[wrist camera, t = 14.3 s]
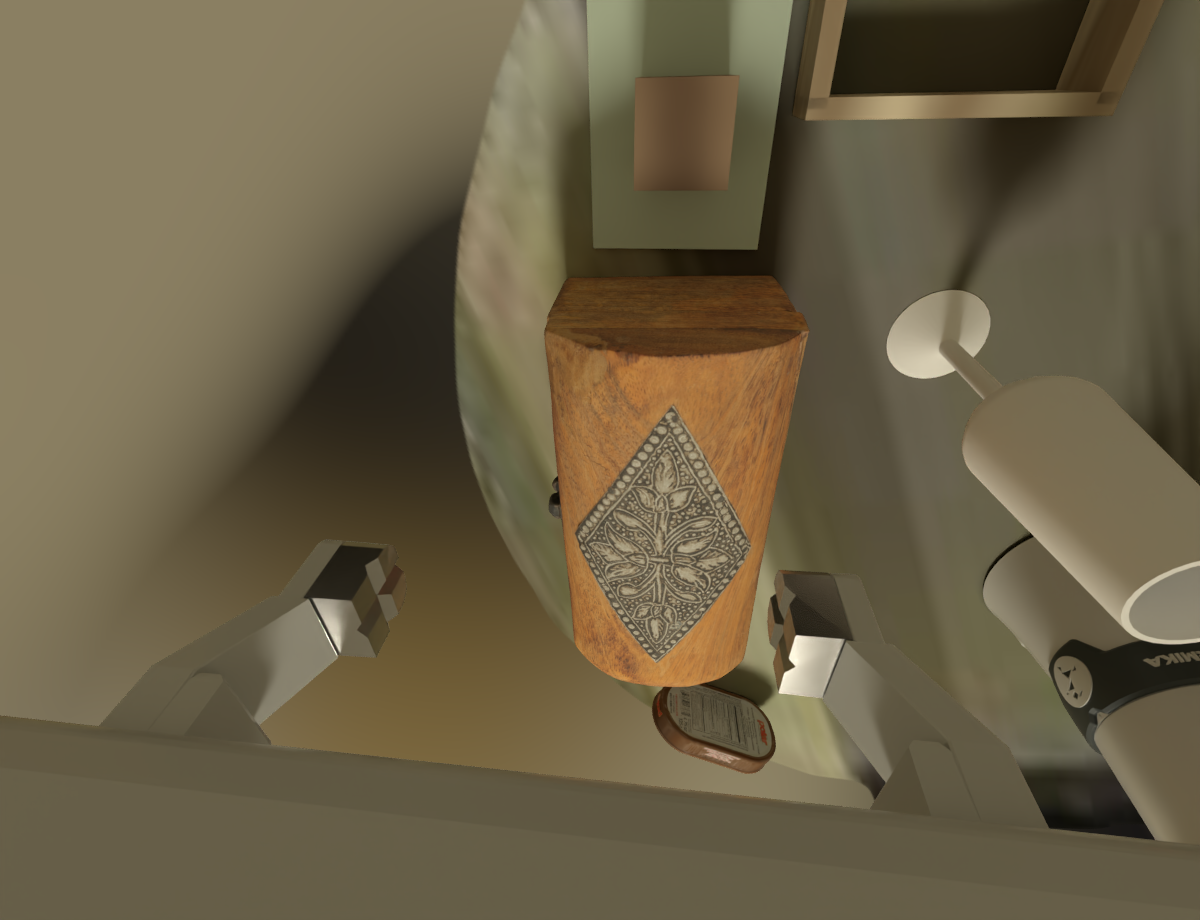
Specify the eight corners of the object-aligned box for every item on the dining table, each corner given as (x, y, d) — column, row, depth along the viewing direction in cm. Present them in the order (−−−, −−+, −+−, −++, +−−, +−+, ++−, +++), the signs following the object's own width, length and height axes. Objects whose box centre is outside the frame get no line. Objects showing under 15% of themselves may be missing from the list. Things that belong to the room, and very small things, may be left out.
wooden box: (552, 270, 39) (503, 349, 28) (787, 270, 37) (836, 356, 26) (575, 562, 57) (551, 683, 45) (736, 571, 55) (752, 700, 44)
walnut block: (729, 74, 31) (739, 75, 26) (719, 173, 34) (727, 190, 29) (641, 76, 31) (635, 77, 26) (639, 173, 34) (633, 190, 29)
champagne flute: (1009, 335, 38) (1357, 609, 19) (918, 395, 41) (1134, 680, 22) (958, 268, 36) (1291, 499, 17) (866, 337, 39) (1054, 597, 20)
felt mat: (795, -32, 28) (797, -33, 28) (756, 247, 37) (757, 249, 36) (587, -23, 30) (586, -24, 29) (594, 245, 38) (593, 248, 37)
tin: (652, 678, 67) (649, 747, 60) (662, 665, 65) (661, 734, 58) (760, 714, 69) (769, 784, 62) (773, 702, 67) (785, 773, 60)
